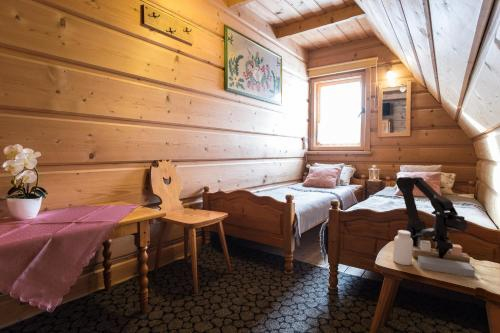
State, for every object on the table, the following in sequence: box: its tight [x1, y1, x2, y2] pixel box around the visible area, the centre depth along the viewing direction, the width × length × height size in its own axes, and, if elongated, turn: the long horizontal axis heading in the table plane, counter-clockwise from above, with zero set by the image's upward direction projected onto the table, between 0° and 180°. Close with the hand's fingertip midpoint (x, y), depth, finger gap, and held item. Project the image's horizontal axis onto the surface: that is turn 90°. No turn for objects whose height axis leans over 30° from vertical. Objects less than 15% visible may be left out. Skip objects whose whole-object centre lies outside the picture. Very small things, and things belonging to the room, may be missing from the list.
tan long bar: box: [412, 246, 471, 265], centre depth 139 cm, size 6×23×4 cm, turn 67°
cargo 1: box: [419, 239, 432, 252], centre depth 141 cm, size 4×4×4 cm
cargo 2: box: [448, 243, 463, 256], centre depth 136 cm, size 4×4×4 cm
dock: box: [417, 256, 475, 278], centre depth 129 cm, size 8×20×3 cm, turn 67°
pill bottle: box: [392, 229, 413, 266], centre depth 135 cm, size 8×8×15 cm
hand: (439, 256), depth 139 cm, fingers closed on tan long bar, 5 cm apart
